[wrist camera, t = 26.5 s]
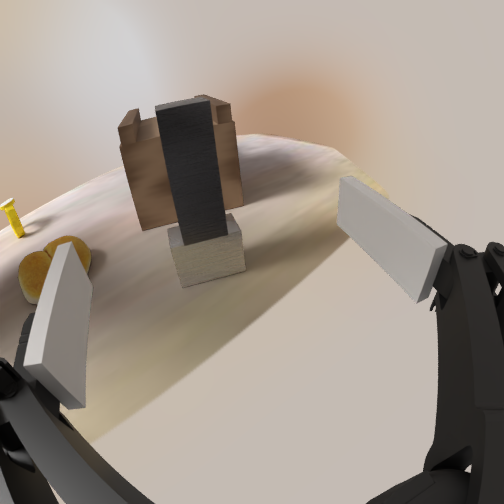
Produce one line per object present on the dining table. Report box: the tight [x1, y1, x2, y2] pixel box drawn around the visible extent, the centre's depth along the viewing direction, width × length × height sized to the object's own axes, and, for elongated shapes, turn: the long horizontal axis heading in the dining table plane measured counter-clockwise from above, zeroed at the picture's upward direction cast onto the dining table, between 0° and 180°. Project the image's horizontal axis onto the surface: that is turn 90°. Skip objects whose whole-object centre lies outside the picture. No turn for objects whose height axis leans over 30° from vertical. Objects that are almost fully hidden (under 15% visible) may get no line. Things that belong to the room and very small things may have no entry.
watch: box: [0, 198, 25, 238], centre depth 35 cm, size 6×3×6 cm, turn 54°
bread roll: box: [18, 236, 91, 304], centre depth 26 cm, size 8×9×4 cm
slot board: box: [118, 95, 244, 231], centre depth 36 cm, size 12×16×12 cm
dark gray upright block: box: [155, 97, 246, 288], centre depth 22 cm, size 6×3×14 cm, turn 108°
